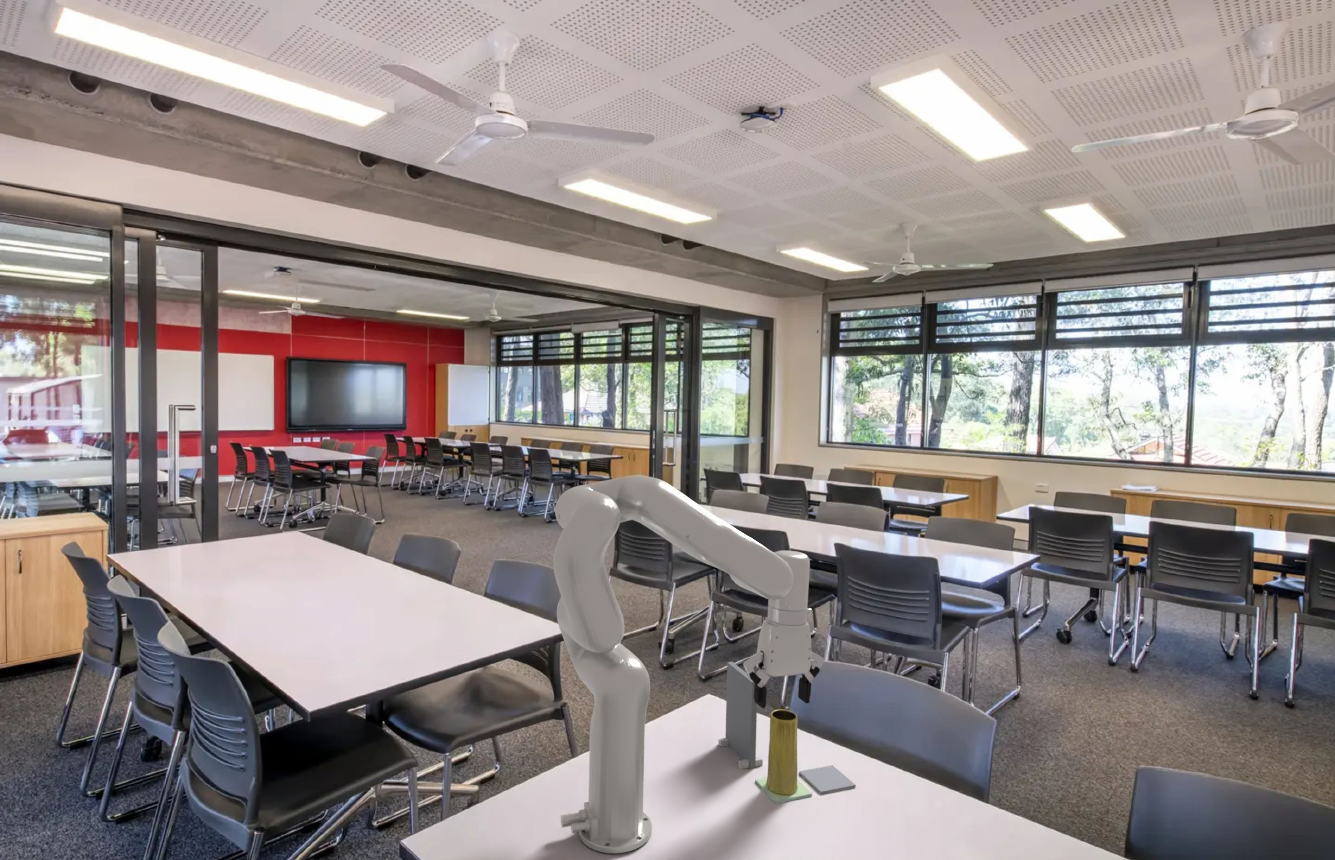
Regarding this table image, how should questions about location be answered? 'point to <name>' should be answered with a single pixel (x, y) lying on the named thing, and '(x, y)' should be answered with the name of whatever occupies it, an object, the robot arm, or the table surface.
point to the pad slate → (827, 779)
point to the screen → (741, 717)
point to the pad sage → (778, 798)
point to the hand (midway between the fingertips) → (782, 702)
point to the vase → (782, 752)
